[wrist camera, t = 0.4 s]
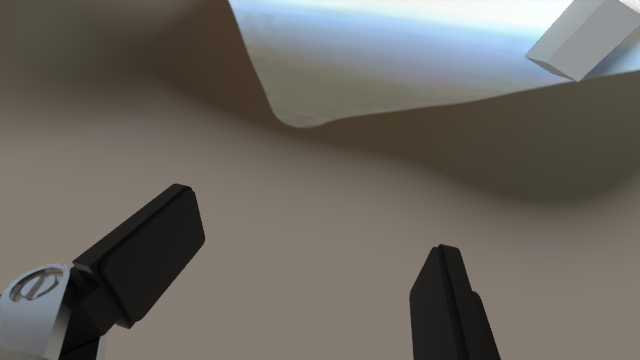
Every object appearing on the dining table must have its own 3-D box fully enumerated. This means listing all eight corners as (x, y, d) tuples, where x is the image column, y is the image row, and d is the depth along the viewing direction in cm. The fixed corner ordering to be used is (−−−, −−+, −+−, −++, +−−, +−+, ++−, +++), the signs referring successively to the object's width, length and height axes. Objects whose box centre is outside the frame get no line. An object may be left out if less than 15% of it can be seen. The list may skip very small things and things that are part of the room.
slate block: (574, -1, 26) (609, -6, 22) (606, 18, 26) (646, 18, 22) (523, 56, 29) (545, 62, 25) (551, 73, 30) (578, 81, 26)
